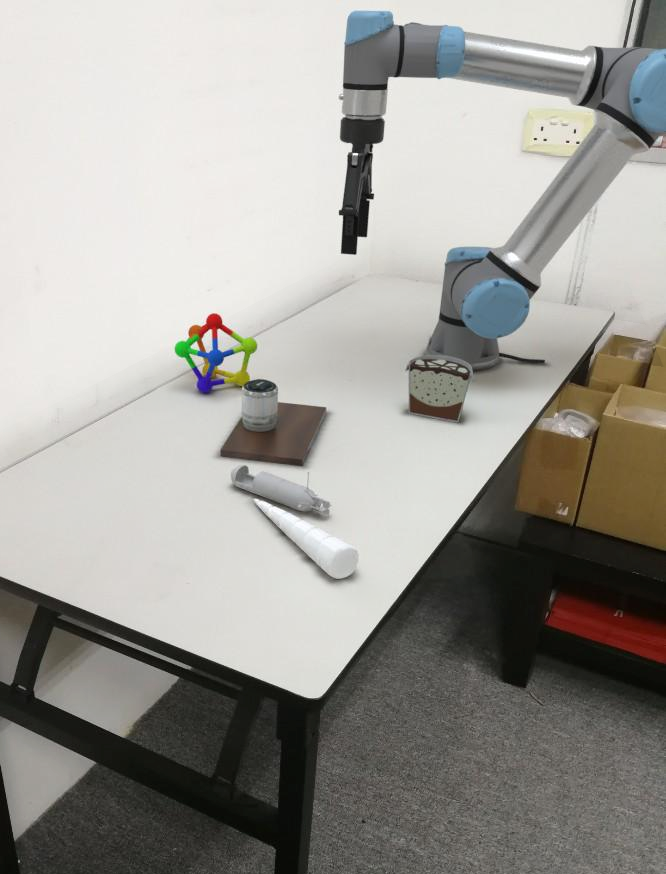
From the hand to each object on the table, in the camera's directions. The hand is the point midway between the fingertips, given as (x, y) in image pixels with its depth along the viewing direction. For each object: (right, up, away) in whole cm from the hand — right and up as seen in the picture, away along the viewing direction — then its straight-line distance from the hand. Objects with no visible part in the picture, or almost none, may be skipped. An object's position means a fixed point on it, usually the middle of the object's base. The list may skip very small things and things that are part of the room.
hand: (354, 245), depth 157 cm
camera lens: (-17, -34, -6) cm, 39 cm away
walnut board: (-15, -35, -6) cm, 39 cm away
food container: (+16, -31, +2) cm, 34 cm away
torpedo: (-14, -48, -27) cm, 57 cm away
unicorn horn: (-12, -55, -36) cm, 67 cm away
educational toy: (-26, -25, +11) cm, 37 cm away
